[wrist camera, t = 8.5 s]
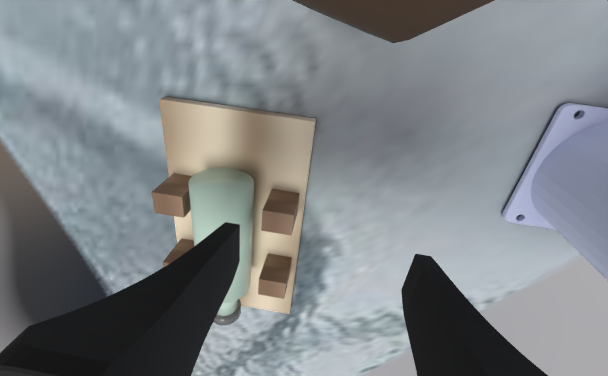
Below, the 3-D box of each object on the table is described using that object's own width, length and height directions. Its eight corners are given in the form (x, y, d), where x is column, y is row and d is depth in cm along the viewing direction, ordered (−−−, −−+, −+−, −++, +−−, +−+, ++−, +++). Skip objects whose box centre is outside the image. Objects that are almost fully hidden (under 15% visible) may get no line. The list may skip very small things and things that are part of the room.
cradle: (316, 118, 19) (310, 136, 16) (290, 306, 28) (284, 342, 25) (165, 96, 20) (131, 110, 16) (187, 288, 28) (168, 320, 25)
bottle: (262, 174, 20) (238, 204, 17) (256, 299, 26) (238, 339, 23) (208, 163, 21) (174, 189, 17) (214, 288, 27) (190, 325, 24)
